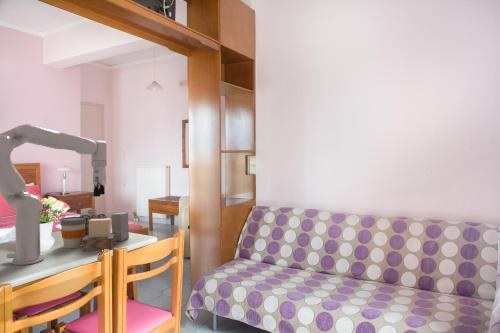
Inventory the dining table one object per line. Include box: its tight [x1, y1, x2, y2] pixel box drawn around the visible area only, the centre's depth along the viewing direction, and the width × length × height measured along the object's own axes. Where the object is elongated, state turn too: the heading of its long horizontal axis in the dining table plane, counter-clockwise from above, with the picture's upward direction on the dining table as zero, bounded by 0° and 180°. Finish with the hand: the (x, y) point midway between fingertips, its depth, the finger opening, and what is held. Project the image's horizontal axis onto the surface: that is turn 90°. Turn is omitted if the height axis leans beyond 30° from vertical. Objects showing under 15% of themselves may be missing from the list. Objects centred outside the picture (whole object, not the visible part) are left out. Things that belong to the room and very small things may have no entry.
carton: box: [89, 217, 112, 237], centre depth 182 cm, size 10×5×9 cm, turn 102°
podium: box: [82, 232, 117, 251], centre depth 182 cm, size 15×13×6 cm
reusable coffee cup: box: [60, 216, 86, 249], centre depth 185 cm, size 13×13×15 cm
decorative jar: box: [78, 208, 108, 238], centre depth 198 cm, size 12×12×18 cm
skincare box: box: [111, 212, 130, 242], centre depth 198 cm, size 8×7×16 cm
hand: (99, 195), depth 181 cm, fingers open, 9 cm apart
